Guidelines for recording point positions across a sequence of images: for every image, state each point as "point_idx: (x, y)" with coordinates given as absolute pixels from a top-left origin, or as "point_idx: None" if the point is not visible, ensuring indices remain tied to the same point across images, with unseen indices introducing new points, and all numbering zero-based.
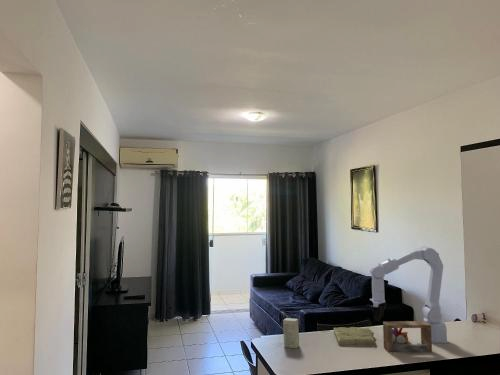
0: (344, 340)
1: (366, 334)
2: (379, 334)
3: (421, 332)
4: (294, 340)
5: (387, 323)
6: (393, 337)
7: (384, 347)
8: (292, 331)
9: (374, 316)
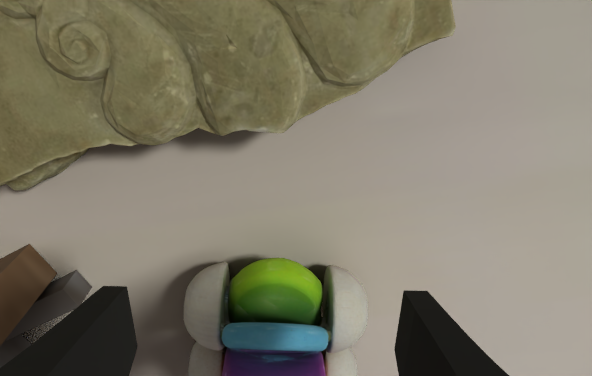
0: None
1: (117, 70)
2: (426, 148)
3: None
4: None
5: None
6: (189, 333)
7: (6, 258)
8: None
9: (43, 340)
